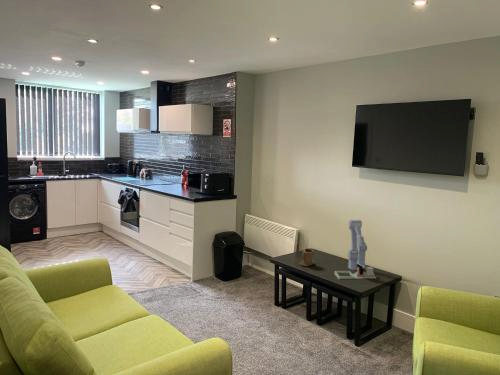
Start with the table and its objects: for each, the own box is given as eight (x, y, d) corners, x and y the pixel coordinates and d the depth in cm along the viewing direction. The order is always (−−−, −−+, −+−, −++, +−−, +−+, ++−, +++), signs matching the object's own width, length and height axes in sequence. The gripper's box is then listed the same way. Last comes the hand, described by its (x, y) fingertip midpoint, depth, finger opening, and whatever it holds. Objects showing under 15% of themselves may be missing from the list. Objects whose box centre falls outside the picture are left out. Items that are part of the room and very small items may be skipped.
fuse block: (351, 274, 323) (351, 270, 323) (372, 274, 324) (372, 270, 324) (355, 279, 313) (355, 275, 313) (376, 279, 314) (376, 275, 314)
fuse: (365, 275, 320) (366, 267, 319) (371, 275, 321) (371, 267, 320) (366, 276, 317) (367, 268, 316) (372, 276, 318) (373, 268, 317)
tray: (334, 274, 324) (334, 271, 324) (349, 274, 325) (349, 271, 324) (338, 280, 311) (339, 276, 311) (354, 280, 312) (354, 276, 311)
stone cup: (306, 268, 336) (307, 252, 334) (297, 264, 346) (297, 248, 344) (318, 265, 346) (319, 249, 344) (309, 261, 355) (309, 245, 353)
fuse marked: (356, 275, 320) (357, 267, 319) (362, 275, 320) (363, 267, 319) (357, 276, 317) (358, 268, 316) (363, 276, 317) (364, 268, 316)
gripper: (353, 255, 323) (352, 270, 325) (359, 260, 309) (358, 277, 311) (362, 255, 324) (361, 270, 326) (368, 260, 309) (367, 277, 311)
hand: (360, 273), depth 318 cm, fingers closed on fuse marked, 3 cm apart
